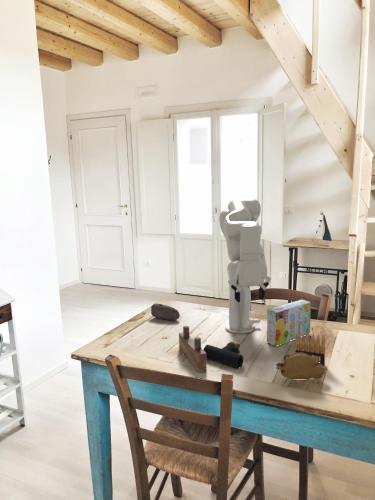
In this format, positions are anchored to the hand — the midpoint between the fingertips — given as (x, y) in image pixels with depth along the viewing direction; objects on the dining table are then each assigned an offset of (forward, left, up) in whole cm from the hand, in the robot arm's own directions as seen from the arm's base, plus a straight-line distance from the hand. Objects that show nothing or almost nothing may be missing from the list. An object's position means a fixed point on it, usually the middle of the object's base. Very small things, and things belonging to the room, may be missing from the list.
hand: (249, 300), depth 157 cm
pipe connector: (+10, +2, -22) cm, 24 cm away
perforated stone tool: (+19, -47, -22) cm, 56 cm away
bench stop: (+23, -2, -21) cm, 32 cm away
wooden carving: (-6, +26, -22) cm, 34 cm away
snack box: (-22, -4, -22) cm, 31 cm away
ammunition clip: (-16, +18, -22) cm, 32 cm away
